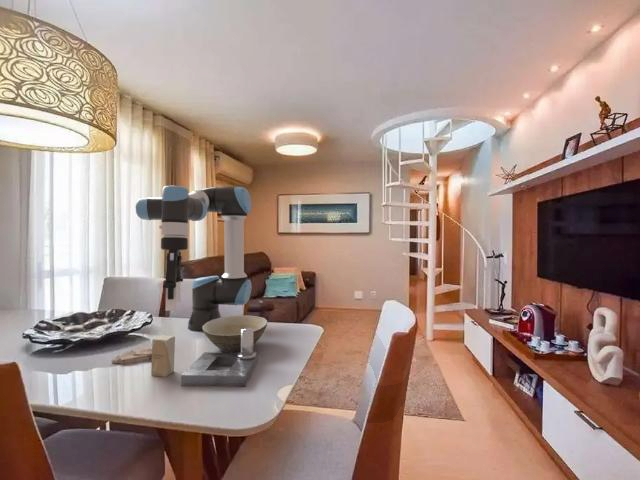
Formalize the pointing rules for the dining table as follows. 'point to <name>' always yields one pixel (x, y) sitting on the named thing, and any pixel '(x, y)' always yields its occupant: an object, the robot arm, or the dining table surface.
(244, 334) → the round door knob
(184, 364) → the dining table surface
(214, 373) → the square recessed tray
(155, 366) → the box
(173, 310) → the robot arm
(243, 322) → the bowl
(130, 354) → the stone
